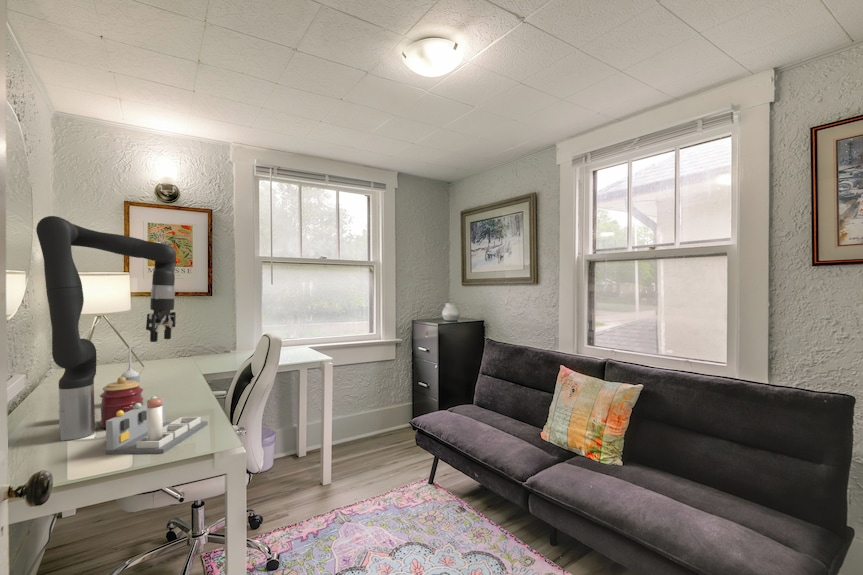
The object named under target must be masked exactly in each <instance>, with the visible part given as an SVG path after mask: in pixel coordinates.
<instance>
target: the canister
mask: <svg viewBox="0 0 863 575" xmlns="http://www.w3.org/2000/svg"><path fill="white" fill-rule="evenodd" d="M139 385H140V387H139ZM102 390H103V392H102V393H100V395H99V397H100V398H101V403H100V404H99V405H100V426H101V428H102V427H103V428H102V429H104V428H106V421H107V420H109V419H112V418H114V417H116V413H117V412H118V411H120V410H122V411H123V412H124V413H126V412H128V411H130V410H132V409H135V407H134V406H135V404H136V403H141V405H144V397H143V395H142V393H143V391H144V389H143V388H142V387H141V383H138V382H136V381H134V380H126V378H125V377H121V376H119V377H117V380H116V381H114V382H111V383H108V384H107V385H105V386H104V387H103V388H102Z"/></svg>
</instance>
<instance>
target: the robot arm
mask: <svg viewBox="0 0 863 575" xmlns="http://www.w3.org/2000/svg"><path fill="white" fill-rule="evenodd" d="M35 232H36V235H37V238H38V243H39V245H40V250H41V254H42V258H43V267H44V269H43V270H44V271H43V272H44V281H45V290H46V291H45V292H46V297H47V303H48V304H47V305H48V310H49V317H50V324H51V337H52V338H51V353H52V355H51V356H52V360H53V362H54V363H55V365H57V366H58V367H60V369H61V368H62V369H64V373H63V374H62V376H61V377H60V379H59V380H58V406H59V408H58V422H59V439H60V441H61V442H62V441H69V440H70V441H71V440H77V439H82V438H85V436H86V437H89V436H91V435H93V434H95V433H96V419H95V418H96V416H95V414H96V413H95V410H96V409H95V377H96V375H97V348H96V346H95V345H94V342H93V341H92V340H89V339H88V338H87V339H86V338H81V337H80V330H79V329H80V327H79V323H80V318H81V314H82V312H83V308H84V302H85V301H84V292H83V284H82V279H81V277H80V274H79V272H78V270H77V267H76V265H75V262H74V259H73V255H72V253H73V252H72V247H83V248H89V249H90V248H91V249H96V250H101V251H105V252H109V253H113V254H117V255H120V256H121V255H122V256H124V257H125V256H126V257H131V258H136V259H137V258H138V259H145V260H150V261H153V262H154V270H153V272H152V280H151V281H152V282H151V289H150V291H151V292H150V305H149V307H150V310H151V311H153V313H147V314H146V324H145V330H146V331H149V333H150V335H149V336H150V338H149V341H150V342H151V343H158V337H159V328H161V327H162V326H163V327H164V331H163V332H164V333H163V334H164V335H163V339H165V340H170V339H171V338H172V330H173V329H174V328H175V327H176V311H173V310H175V295H176V292H175V280H176V279H175V277H176V276H175V274H176V273H175V269H176V262H177V252H176V250H175V248H174V247H173V246H171V245H169V244H166V243H162V242H158V241H157V242H156V241H151V240H150V241H149V240H144V239H141V238H137V237H133V236H127V235H122V234H116V233H109V232H103V231H97V230H92V229H89V228H85V227H82V226H80V225H77V224H74V223H71V222H70V221H69V220H66V219H65V218H62V217H60V216H54V215H49V216H45V217H43V218H42V219H40V220H39V221H38V223H37V224H36V228H35Z"/></svg>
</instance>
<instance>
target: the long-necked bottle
mask: <svg viewBox="0 0 863 575" xmlns="http://www.w3.org/2000/svg"><path fill="white" fill-rule="evenodd" d="M131 348H132V347H131V346H128V351H127V350H125V351H126V358H125V359H127V357H128V363H127V360H125V361H126V362H125V363H126V364H125V365H127V364H128V368H127V369H126V371H124V372H123V373H122V374H121V376H120V377H125V378H126V380H134V381H136V382H138V383H140V382H141V381H140V373H139V372H138V371H136V370H135V369H133V368H132V351H131V350H132V349H131ZM127 352H128V356H127ZM139 387H140V388H141V383H140V385H139Z"/></svg>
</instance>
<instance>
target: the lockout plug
mask: <svg viewBox="0 0 863 575" xmlns="http://www.w3.org/2000/svg"><path fill="white" fill-rule="evenodd" d="M162 398H163V397H157V398H154V399H151V398H150V399H148V400H146V403H147V428H148V441H159V440H161V439H163V420H162Z"/></svg>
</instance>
